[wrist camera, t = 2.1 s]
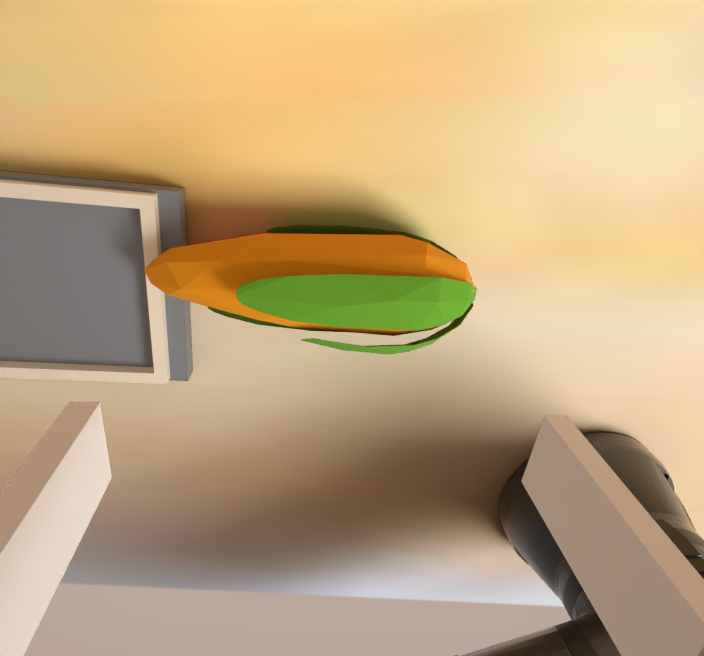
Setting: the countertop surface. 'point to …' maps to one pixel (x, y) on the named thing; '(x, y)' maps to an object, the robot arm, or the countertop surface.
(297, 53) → the countertop surface
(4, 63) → the countertop surface
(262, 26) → the countertop surface
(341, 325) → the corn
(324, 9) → the countertop surface
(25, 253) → the board
